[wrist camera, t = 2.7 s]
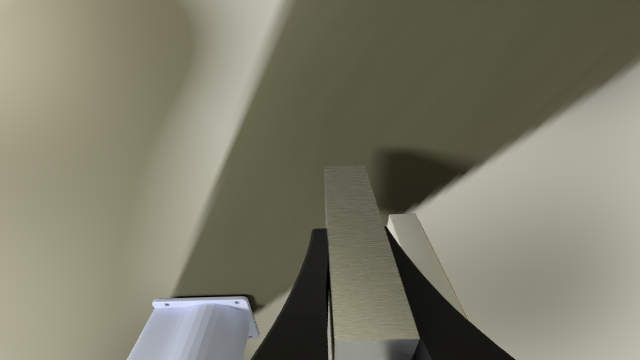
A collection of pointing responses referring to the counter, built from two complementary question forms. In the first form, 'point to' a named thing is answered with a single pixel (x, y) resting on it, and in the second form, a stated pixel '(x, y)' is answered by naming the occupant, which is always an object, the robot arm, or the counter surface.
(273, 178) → the counter surface
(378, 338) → the pale grey upright block
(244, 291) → the counter surface
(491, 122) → the counter surface
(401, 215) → the tile
